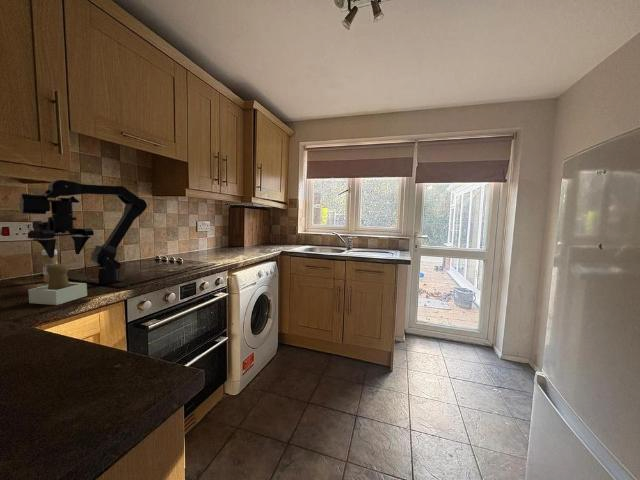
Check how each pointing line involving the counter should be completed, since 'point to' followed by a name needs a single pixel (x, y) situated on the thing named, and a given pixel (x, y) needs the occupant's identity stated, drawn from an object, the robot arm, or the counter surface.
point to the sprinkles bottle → (48, 263)
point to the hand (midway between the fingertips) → (64, 256)
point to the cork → (58, 276)
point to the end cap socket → (57, 294)
